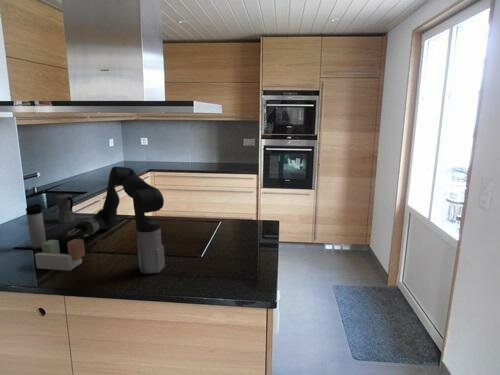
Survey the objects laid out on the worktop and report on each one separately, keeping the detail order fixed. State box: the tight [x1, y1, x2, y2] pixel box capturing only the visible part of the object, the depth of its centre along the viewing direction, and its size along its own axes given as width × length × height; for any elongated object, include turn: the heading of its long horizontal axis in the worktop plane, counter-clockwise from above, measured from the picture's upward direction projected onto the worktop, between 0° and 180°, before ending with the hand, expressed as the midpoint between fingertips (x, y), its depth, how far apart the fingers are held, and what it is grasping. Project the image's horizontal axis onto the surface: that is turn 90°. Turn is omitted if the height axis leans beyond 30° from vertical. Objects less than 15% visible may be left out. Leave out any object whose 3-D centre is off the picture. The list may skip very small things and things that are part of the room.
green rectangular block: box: [41, 239, 61, 254], centre depth 144 cm, size 4×5×7 cm
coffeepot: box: [54, 191, 76, 224], centre depth 199 cm, size 15×9×18 cm, turn 55°
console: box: [34, 252, 83, 272], centre depth 142 cm, size 15×8×6 cm, turn 80°
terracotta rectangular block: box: [66, 238, 86, 259], centre depth 145 cm, size 4×5×7 cm
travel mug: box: [25, 203, 47, 250], centre depth 161 cm, size 6×7×20 cm
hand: (63, 240), depth 152 cm, fingers closed
